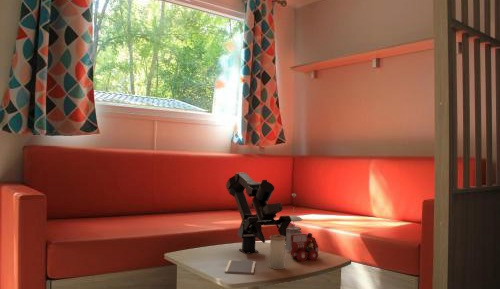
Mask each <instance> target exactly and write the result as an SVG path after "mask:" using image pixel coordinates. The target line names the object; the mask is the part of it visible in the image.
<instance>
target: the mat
mask: <svg viewBox="0 0 500 289" xmlns="http://www.w3.org/2000/svg"><path fill="white" fill-rule="evenodd" d="M255 267H256V260H255V261H254V260H251V261H249V260H232V259H229V261H228V263H227V266H226V267H225V271H224V273H225V274H237V275H238V274H241V275H243V274H244V275H254V272H255Z"/></svg>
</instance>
